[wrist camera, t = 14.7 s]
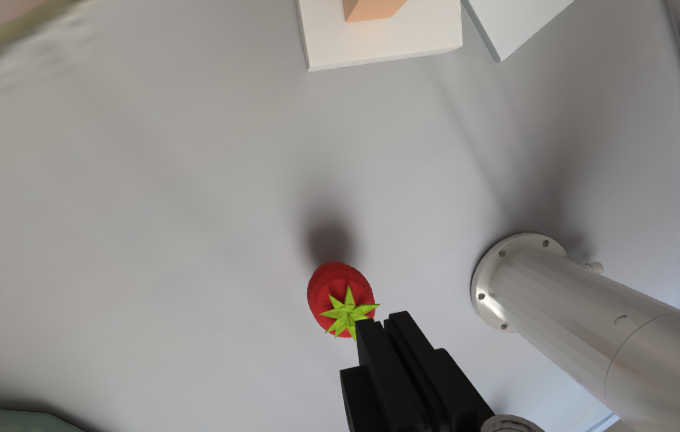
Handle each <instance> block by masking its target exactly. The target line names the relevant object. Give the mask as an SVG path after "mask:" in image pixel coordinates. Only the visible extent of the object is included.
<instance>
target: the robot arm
mask: <svg viewBox="0 0 680 432" xmlns="http://www.w3.org/2000/svg"><path fill="white" fill-rule="evenodd" d="M603 270H604V269H603V266H602V264H601V263H599V262H596V261H595V262H591V263H587V264H585V265H583V264H580V263H578V262H576V261H573V260H571V259H569V258H568V255H567V253H566V252H565V250H564V248H563V247H562V246H561V245H560V244H559V243H558V242H556V241H555V240H553V239H552V238H550V237H547V236H544V235H542V234H537V233H520V234H515V235H512V236H510V237H508V238H505V239H503V240H502V241H500V242H499V243H497V244H496V245H495V246H494V247H492V248H491V249H490V250H489V251H488V252H487V253H486V255H485V256H484V257H483V258H482V260H481V261H480V263H479V265H478V267H477V268H476V271H475V274H474V276H473V280H472V286H471V298H472V302H473V306H474V308H475V310H476V313H477V314H478V315H479V317H480V318H481V319H482V320H483V321H484V322H485V323H486V324H487V325H489V326H490V327H492V328H493V329H495V330H498V331H500V332H505V333H518V334H520V335H521V336H522V337H523V338H524V339H526V340H527V341H528V342H529V343H530V344H532V345H533V346H534V347H535V348H536V349H538V350H539V351H540V352H541V353H542V354H544V355H545V356H546V357H547V358H548V359H550V360H551V361H552V362H553V363H554V364H556V365H557V366H558V367H559V368H560V369H562V370H563V371H564V372H565V373H566V374H568V375H569V376H570V377H571V378H572V379H574V380H575V381H576V382H577V383H578V384H580V385H581V386H582V387H583V388H584V389H586V390H587V391H588V392H589V393H590V394H592V395H593V396H594V397H595V398H596V399H598V400H599V401H600V402H601V403H602V404H604V405H605V406H606V407H607V408H608V409H610V410H611V411H612V412H613V413H614V414H616V415H617V416H618V417H619V418H621V419H622V420H623V421H624V422H626V423H627V424H628V425H629V426H630V427H632V428H633V429H634V430H636V431H637V432H680V310H679V309H677V308H675V307H673V306H670V305H668V304H666V303H664V302H661V301H659V300H657V299H654V298H652V297H650V296H648V295H645V294H643V293H641V292H638V291H636V290H634V289H632V288H629V287H627V286H625V285H622V284H620V283H618V282H616V281H613V280H611V279H609V278H607V277H604V276H602V275H600V274H599V273H602V272H603ZM355 332H356V340H357V349H358V357H359V365H360V366H357V367H352V368H348V369H343V370H340V379H341V387H342V393H343V400H344V406H345V411H346V416H347V421H348V426H349V430H350V432H545V431H544V430H542V429H541V428H540V427H538V426H537V425H536V424H534V423H533V422H531V421H529V420H526V419H524V418H522V417H518V416H514V415H503V414H501V415H497V416H496V415H495V414H494V413H493V411H492V410H491V409H490V407H489V406H488V405H487V403H486V402H485V401H484V399H483V398H482V397H481V395H480V394H479V393H478V391H477V390H476V389H475V387H474V386H473V385H472V383H471V382H470V381H469V380H468V378H467V377H466V376H465V374H464V373H463V372H462V370H461V369H460V368H459V366H458V365H457V364H456V362H455V361H454V360H453V358H452V357H451V356H450V354H449V353H448V352H447V351H446V350H445V349H443V348H440V349H435V350H434V348H433V347H432V345H431V344H430V343H429V341H428V340H427V338H426V337H425V335H424V334H423V333H422V331H421V330H420V328H419V327H418V326H417V324H416V323H415V321H414V320H413V318H412V317H411V316H410V314H409V313H408V312H407V311H402V312H397V313H392V314H389V319H386V320H384V328H383V326H382V324H381V323H380V321H376V322H374V320H373V318H367V319H362V320H357V321H355Z"/></svg>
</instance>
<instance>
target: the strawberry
mask: <svg viewBox="0 0 680 432" xmlns="http://www.w3.org/2000/svg"><path fill="white" fill-rule="evenodd" d="M307 299H308V304H309V307H310V310H311V312H312V313H313V315H314V317H315V319H316V320H317V322H318V323H319V324H320V326H321V327H322V328H324V329H325V330H326V332H325V333H327V332H329V333H331V334H333V335H335V338H336V337H337V336H338V337H343V338H350V337H353V339H354V341H355V340H356V332H355V321H357V320H362V319H367V318H374V314H375V308H376V307H378V306H380V304H375V301H374V297H373V293H372V289H371V287H370V285H369V283H368V281H367V280H366V278H365V277H364V276H363V275H362V274H361V273H360V272H359V271H358V270H356V269H355V268H353V267H351V266H349V265H346V264H344V263H341V262H327V263H325V264H322V265H321V266H320V267H318V268H317V269H316V270H315V272H314V273H313V275H312V277H311V279H310V281H309V284H308V288H307ZM373 320H374V321H375V319H373Z"/></svg>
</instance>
